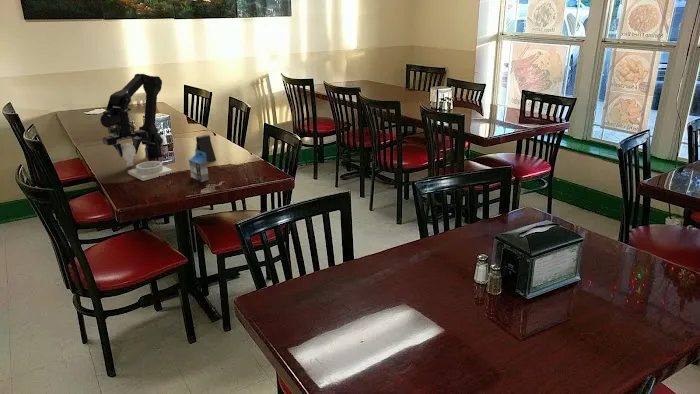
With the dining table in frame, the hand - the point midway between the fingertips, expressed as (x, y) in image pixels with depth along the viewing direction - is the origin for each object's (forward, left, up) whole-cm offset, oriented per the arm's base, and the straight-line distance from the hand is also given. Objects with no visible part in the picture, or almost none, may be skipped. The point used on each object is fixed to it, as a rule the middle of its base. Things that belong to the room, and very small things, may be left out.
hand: (128, 155), depth 237 cm
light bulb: (0, 0, -6) cm, 6 cm away
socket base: (-2, +15, -6) cm, 16 cm away
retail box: (-13, +38, -6) cm, 41 cm away
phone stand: (-30, +16, -6) cm, 35 cm away
